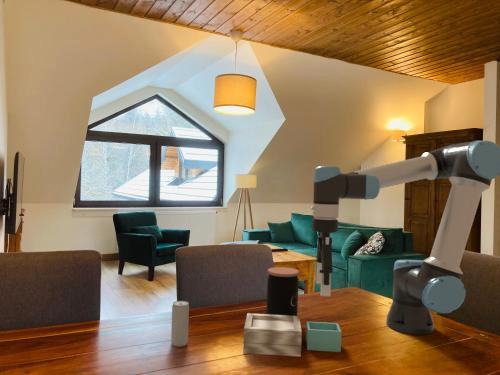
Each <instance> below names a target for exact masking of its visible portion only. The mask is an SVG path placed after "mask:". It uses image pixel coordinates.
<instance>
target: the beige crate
mask: <svg viewBox="0 0 500 375" xmlns="http://www.w3.org/2000/svg"><path fill="white" fill-rule="evenodd" d="M302 336H303V335H302V326H301V320H300V316H299V315H297V316H288V315H270V314H266V313H250V312H247V314H246V319H245V323H244V327H243V350H242V351H243V352H242V353H243V354H254V355H267V356H268V355H270V356H285V357H287V356H288V357H300V358H301V357H302Z"/></svg>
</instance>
